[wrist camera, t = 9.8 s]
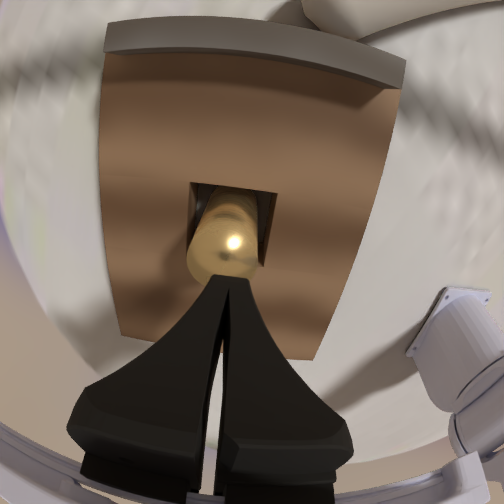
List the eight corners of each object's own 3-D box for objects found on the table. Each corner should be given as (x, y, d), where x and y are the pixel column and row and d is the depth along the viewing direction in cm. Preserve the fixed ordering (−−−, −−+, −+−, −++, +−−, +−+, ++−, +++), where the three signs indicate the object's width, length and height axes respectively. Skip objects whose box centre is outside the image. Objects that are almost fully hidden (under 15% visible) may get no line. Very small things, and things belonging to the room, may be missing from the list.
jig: (308, 334, 25) (315, 379, 21) (132, 311, 24) (113, 352, 20) (383, 71, 14) (423, 67, 10) (130, 38, 13) (91, 26, 9)
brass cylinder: (252, 230, 20) (250, 295, 14) (206, 223, 20) (184, 285, 14) (261, 186, 18) (264, 237, 12) (212, 178, 18) (188, 225, 12)
